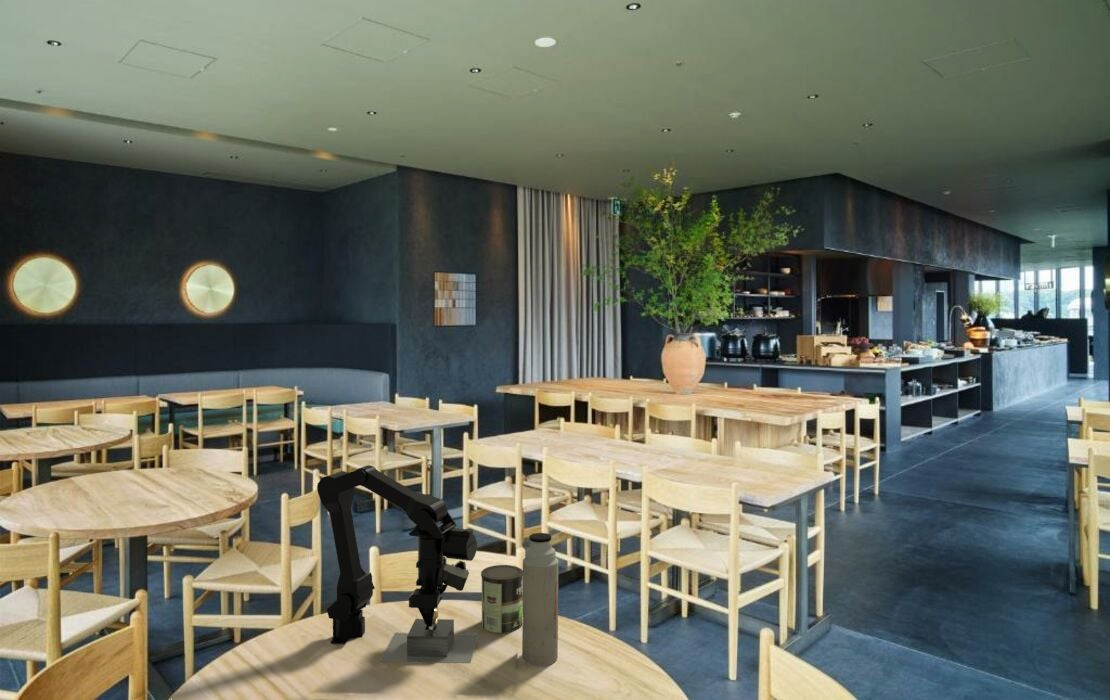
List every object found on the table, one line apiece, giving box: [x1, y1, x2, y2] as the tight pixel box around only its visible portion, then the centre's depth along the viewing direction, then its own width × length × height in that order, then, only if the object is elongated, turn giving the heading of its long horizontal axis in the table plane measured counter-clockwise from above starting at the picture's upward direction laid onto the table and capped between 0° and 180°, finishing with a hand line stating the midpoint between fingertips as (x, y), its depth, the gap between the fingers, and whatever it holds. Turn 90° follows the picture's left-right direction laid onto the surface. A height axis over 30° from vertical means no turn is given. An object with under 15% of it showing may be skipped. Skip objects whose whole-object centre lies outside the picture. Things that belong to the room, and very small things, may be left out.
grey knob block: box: [407, 618, 455, 657], centre depth 164 cm, size 9×9×5 cm
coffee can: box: [480, 564, 523, 634], centre depth 176 cm, size 10×10×14 cm
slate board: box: [379, 632, 479, 664], centre depth 164 cm, size 20×14×1 cm
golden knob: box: [424, 607, 439, 630], centre depth 164 cm, size 4×4×8 cm
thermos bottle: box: [521, 532, 559, 667], centre depth 161 cm, size 8×8×28 cm
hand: (430, 622), depth 163 cm, fingers closed on golden knob, 3 cm apart
